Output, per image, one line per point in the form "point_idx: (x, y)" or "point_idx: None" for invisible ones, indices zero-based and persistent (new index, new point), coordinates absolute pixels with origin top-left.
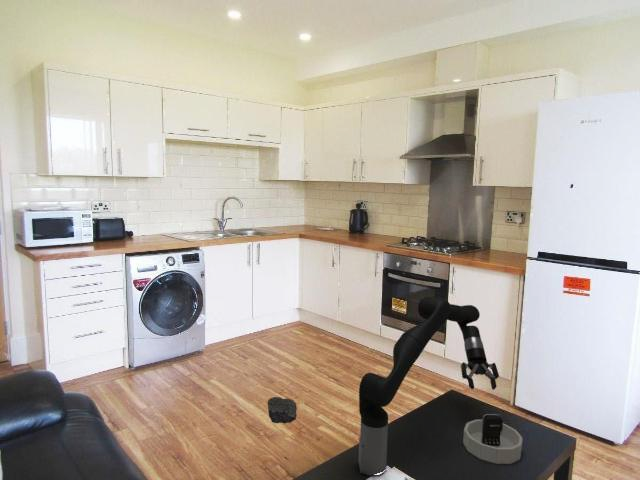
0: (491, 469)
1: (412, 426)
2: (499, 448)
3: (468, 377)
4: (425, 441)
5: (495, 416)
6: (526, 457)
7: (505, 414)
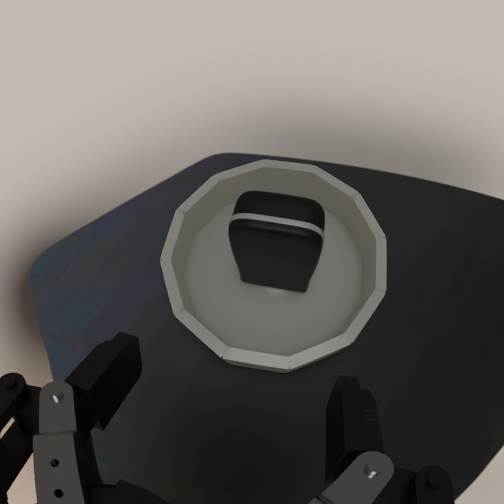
0: None
1: (487, 416)
2: (303, 167)
3: (386, 471)
4: (477, 326)
5: (269, 202)
6: None
7: None
